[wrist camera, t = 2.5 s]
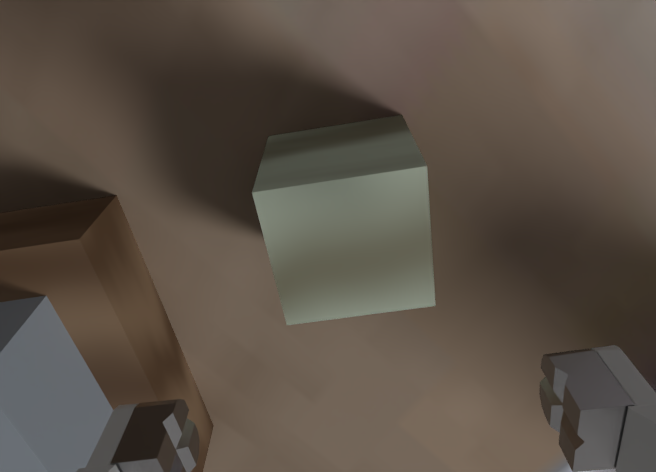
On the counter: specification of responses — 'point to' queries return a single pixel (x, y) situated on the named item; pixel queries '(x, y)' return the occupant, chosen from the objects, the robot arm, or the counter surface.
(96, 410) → the grey slab
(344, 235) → the sage block
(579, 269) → the counter surface
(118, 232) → the walnut slab
